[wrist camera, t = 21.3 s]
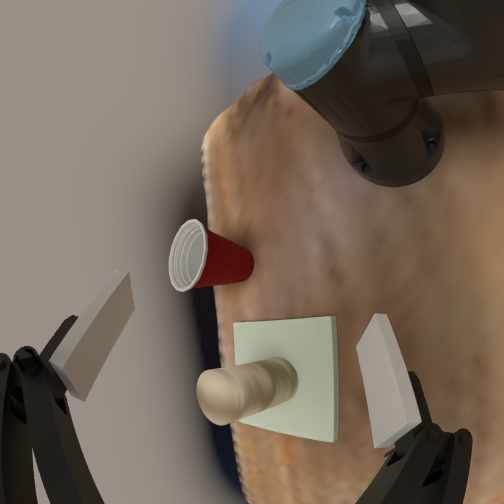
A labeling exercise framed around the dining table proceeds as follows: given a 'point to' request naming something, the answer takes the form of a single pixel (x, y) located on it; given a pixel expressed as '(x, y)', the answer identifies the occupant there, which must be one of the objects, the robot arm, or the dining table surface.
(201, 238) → the plastic cup
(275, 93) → the dining table surface
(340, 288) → the dining table surface
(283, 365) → the birch roller
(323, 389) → the board
